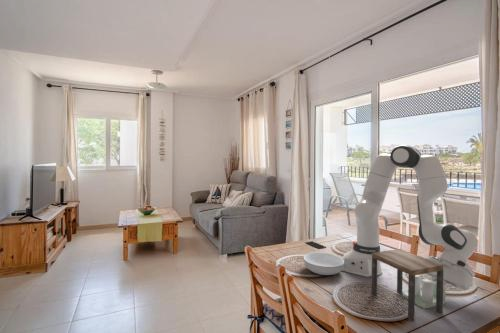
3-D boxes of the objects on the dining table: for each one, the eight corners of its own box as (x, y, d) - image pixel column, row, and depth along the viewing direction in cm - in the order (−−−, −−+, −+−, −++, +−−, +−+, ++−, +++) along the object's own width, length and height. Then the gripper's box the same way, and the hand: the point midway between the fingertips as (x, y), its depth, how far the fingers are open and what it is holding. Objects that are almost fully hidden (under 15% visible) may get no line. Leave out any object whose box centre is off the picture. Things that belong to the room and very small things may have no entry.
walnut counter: (411, 321, 101) (412, 270, 100) (371, 295, 120) (371, 252, 119) (442, 313, 106) (443, 265, 105) (399, 289, 125) (400, 248, 124)
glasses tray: (423, 292, 123) (423, 271, 122) (445, 303, 113) (445, 281, 113) (402, 296, 119) (403, 275, 119) (424, 308, 109) (424, 285, 109)
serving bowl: (346, 282, 133) (347, 268, 133) (303, 278, 137) (303, 264, 137) (341, 265, 154) (341, 253, 153) (303, 262, 158) (303, 251, 158)
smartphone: (319, 248, 181) (304, 242, 194) (319, 249, 181) (304, 243, 194) (326, 247, 184) (312, 241, 198) (326, 248, 184) (312, 242, 198)
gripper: (425, 250, 130) (409, 273, 127) (472, 266, 111) (455, 294, 108) (432, 258, 132) (416, 281, 129) (479, 275, 112) (462, 303, 109)
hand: (434, 287), depth 118 cm, fingers closed
